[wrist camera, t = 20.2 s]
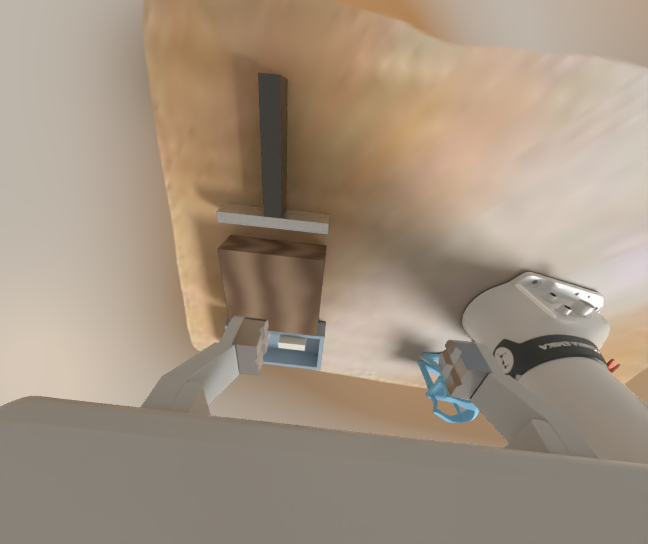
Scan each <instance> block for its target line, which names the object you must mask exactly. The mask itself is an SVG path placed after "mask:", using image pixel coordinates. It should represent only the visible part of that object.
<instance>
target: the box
mask: <svg viewBox="0 0 648 544" xmlns="http://www.w3.org/2000/svg"><path fill="white" fill-rule="evenodd" d="M228 325H229V319H228V320H227V322H226V324H225V330H226V328H227V326H228ZM325 325H326V322H321V321H318V328H317V336H310V335H301V334H292V333H283V332H274V331H267V332H268V333H269V334H270V337H269V343H268V348H267V351H266V354H265V355H264V356H263V364H271V365H279V366H287V367H296V368H306V369H314V370H320V368H321V360H322V352H323V345H324V337H325ZM280 335H285V336H294V337H303V338H307V339H306V345H305V351H302V350H293V349H284V348H278V341H279V338H280Z"/></svg>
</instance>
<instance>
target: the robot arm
mask: <svg viewBox="0 0 648 544" xmlns="http://www.w3.org/2000/svg"><path fill="white" fill-rule="evenodd" d="M603 304H604V297H603V296H602V295H601V294H600V293H598V292H595V291H592V290H589V289H585V288H582V287H579V286H576V285H572V284H569V283H566V282H563V281H559V280H556V279H553V278H550V277H546V276H543V275H540V274H537V273H533V272H525V273H523V274H521V275H519V276H517V277H516V278H514V279H513V280H511V281H510V282H508V283H505V284H502V285H499V286H496V287H494V288H491V289H489V290H487V291H485V292H484V293H482V294H480V295H479V296H478V297H476V298H475V299H474V300H473V301H472V302H471V303H470V304H469V305H468V307H467V308H466V310H465V312H464V314H463V318H462V325H463V328H464V330H465V331H466V333H467V334H468V335H469V336H470V337H471V338H472V339H473V340H474V341H475V342H468V341H458V340H449V341H447V343H446V344H445V347H446V350H444V351H443V352H441V354H440V357H439V368H440V371H441V373H442V374H443V375H444V376H445V377H446V378H447V379H446V381H445V384H446V386H447V389H448V392H449V394H450V397H458V398H465V399H470V401H471V402H472V403H473V404H474V405H475V406H476V407H477V408H478V410H480V412H481V413H482V414H483V415H484V416H485V417H486V418H487V420H488V421H490V423H491V424H492V425H493V426H494V427H495V428H496V429H497V431H498V432H499V433H500V434H501V435H502V436H503V437H504V438H505V439H506V440H507V442H508V444H507V445H506V446H505V447H504V448H498V447H489V446H480V445H471V444H462V443H453V442H443V441H434V440H426V439H417V438H408V437H399V436H390V435H381V434H372V433H362V432H353V431H345V430H336V429H326V428H318V427H309V426H300V425H291V424H282V423H273V422H263V421H254V420H246V419H237V418H227V417H219V416H211V415H210V411H209V408H208V404H209V403H210V402H211V401H212V400H213V399H214V398H215V397H216V396H217V395H218V394H220V392H222V391H223V390H224V389H225V388H226V387H227V386H228V385H229V384H230V383H231V382H232V381H233V380H234V379H235V378H236V377H237V376H238V375H239V374H251V375H259V373H260V370H261V367H262V364H263V356H264V355H265V354H266V351H267V348H268V343H269V333H268V332H267V329H268V326H269V325H268V320H265V319H258V318H251V317H241V316H234V317H233V318H232V319H231V321H230V323H229V325H228V326H227V328H226V330H225V332H224V334H223V336H222V337H221V339H220V341H219V343H214V344H212V345H211V346H209V347H208V348H206V349H204V350H203V351H201V352H200V353H199V354H197V355H195V356H193V357H192V358H190V359H189V360H187V361H186V362H184V363H182V364H181V365H179V366H178V367H176V368H175V369H173V370H172V371H170V372H169V373H167V374H165V375H164V376H162V377H161V379H160V380H159V381H158V383H157V384H156V386H155V387H154V389H153V390H152V392H151V393H150V395H149V396H148V397H147V399H146V401H145V402H144V403H143V405H142V406H141V407H140V408H139V407H130V406H120V405H112V404H103V403H94V402H85V401H76V400H67V399H59V398H51V397H42V396H28V397H23V398H20V399H17V400H15V401H12V402H10V403H7V404H5V405H3V406H0V544H648V406H647V405H646V404H645V403H644V402H643V401H642V400H641V399H639V398H638V397H637V396H636V395H635V394H634V393H633V392H632V391H631V390H630V389H628V388H627V387H626V386H625V385H624V384H623V383H622V382H621V381H620V380H619V379H618V378H617V377H616V376H614V375H613V374H612V373H613V372H614V371H615V370H616V369H617V368H618V367H619V366H620V364H618V365H616V366H615V367H613V368H612V369H610V368H611V367H612V366H613V364H614V361H615V360H614V359H611V360H610V361H609V362H608V363H607V364H606V362H605V360H604V358H603V356H602V355H601V353H600V351H599V350H600V348H601V346H602V345H603V343H604V342H605V340H606V339H607V337H608V335H609V331H610V326H609V323H608V321H607V320H606V319H605V318H604V317H603V316H602V315H600V314H599V313H600V311H601V309H602V307H603Z"/></svg>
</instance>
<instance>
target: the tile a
mask: <svg viewBox="0 0 648 544" xmlns="http://www.w3.org/2000/svg"><path fill="white" fill-rule="evenodd" d="M306 339H307V338H303V337H294V336H285V335H280V338H279V341H278V348H284V349H293V350H302V351H305V345H306Z"/></svg>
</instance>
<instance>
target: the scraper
mask: <svg viewBox="0 0 648 544" xmlns="http://www.w3.org/2000/svg"><path fill="white" fill-rule="evenodd" d="M258 80H259V104H260V129H261V154H262V179H263V204H264V207H258V206H249V205H240V204H230V203H226V204H225V205H224V206H223V207H221V208H220V209H219V210H217V211H216V214H217V221H218V222H221V223H230V224H239V225H248V226H257V227H266V228H275V229H284V230H293V231H302V232H311V233H320V234H328V228H329V219H330V214H322V213H312V212H303V211H294V210H286V178H287V79H286V78H284V77H282V76H281V75H273V74H263V73H258Z"/></svg>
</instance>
